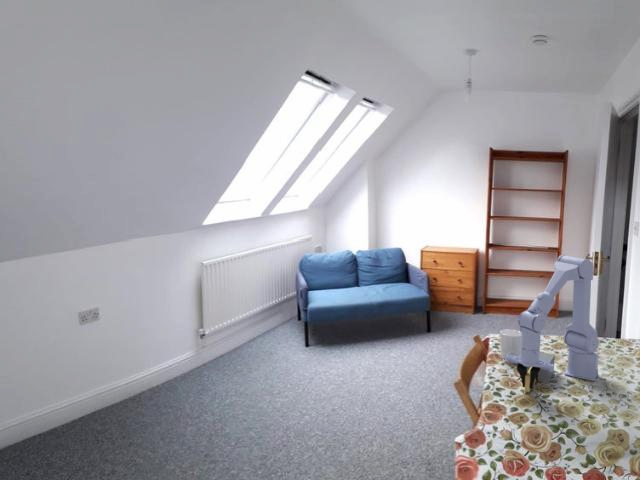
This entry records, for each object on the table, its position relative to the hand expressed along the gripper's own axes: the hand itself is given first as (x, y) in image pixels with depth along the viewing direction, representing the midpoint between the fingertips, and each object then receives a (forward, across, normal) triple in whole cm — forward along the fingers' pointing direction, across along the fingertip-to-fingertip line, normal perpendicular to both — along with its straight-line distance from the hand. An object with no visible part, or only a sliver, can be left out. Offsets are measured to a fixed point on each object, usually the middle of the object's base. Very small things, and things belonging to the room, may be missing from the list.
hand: (527, 386), depth 158 cm
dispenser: (+1, 0, +14) cm, 15 cm away
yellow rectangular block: (+1, 0, +4) cm, 4 cm away
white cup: (+2, -12, +26) cm, 28 cm away
